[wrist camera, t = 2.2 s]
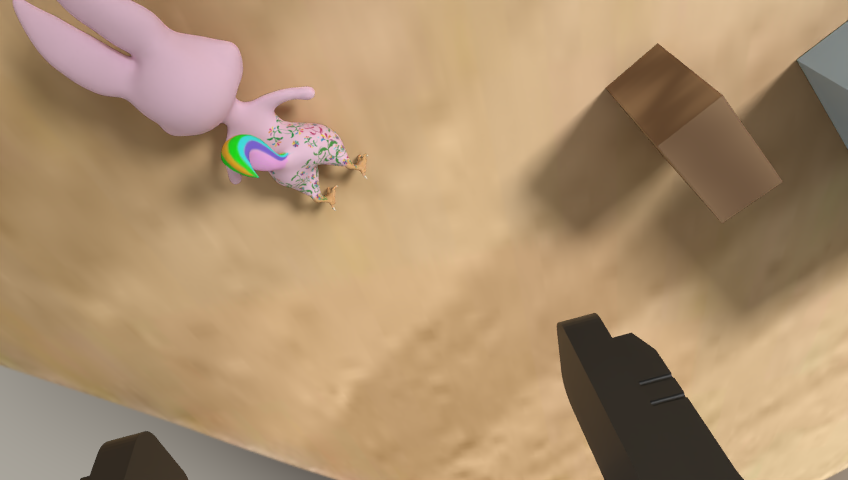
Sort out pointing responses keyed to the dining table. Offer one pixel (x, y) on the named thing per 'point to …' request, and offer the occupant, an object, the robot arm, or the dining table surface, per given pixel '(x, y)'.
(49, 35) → the rabbit figure
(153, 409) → the dining table surface
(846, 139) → the box
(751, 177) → the wooden rectangular block
